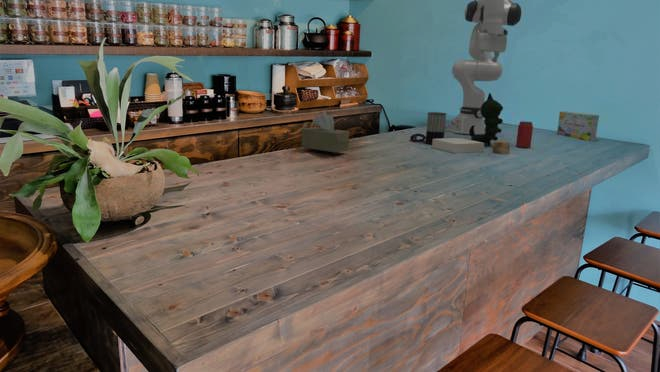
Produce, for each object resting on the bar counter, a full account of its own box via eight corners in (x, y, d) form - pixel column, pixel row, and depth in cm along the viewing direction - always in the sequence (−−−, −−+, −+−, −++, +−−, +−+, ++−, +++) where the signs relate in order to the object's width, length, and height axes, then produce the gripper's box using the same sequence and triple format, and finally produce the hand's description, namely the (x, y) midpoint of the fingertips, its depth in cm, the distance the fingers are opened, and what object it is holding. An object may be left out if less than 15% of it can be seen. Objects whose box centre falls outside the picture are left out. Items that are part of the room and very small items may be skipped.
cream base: (432, 147, 230) (432, 138, 229) (459, 146, 237) (460, 137, 236) (454, 153, 216) (455, 144, 215) (483, 151, 223) (484, 142, 222)
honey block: (492, 152, 223) (493, 141, 222) (499, 152, 225) (501, 140, 224) (501, 154, 219) (502, 143, 218) (509, 153, 221) (510, 142, 220)
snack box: (555, 138, 284) (559, 111, 280) (562, 137, 286) (566, 111, 282) (588, 143, 265) (592, 114, 261) (595, 143, 267) (600, 114, 264)
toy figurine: (489, 148, 236) (495, 93, 230) (461, 142, 252) (466, 91, 246) (504, 147, 240) (510, 93, 234) (476, 141, 256) (481, 91, 251)
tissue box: (300, 147, 219) (301, 110, 215) (315, 144, 226) (316, 109, 223) (335, 152, 207) (336, 114, 204) (349, 150, 215) (350, 112, 211)
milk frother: (445, 145, 238) (448, 114, 235) (412, 144, 239) (414, 112, 235) (440, 141, 252) (443, 111, 249) (409, 140, 253) (411, 110, 249)
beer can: (528, 148, 239) (531, 123, 237) (514, 146, 243) (517, 121, 240) (532, 147, 244) (535, 122, 242) (518, 145, 248) (521, 120, 246)
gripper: (483, 28, 222) (480, 60, 225) (510, 32, 234) (507, 62, 237) (471, 29, 226) (468, 60, 230) (498, 32, 239) (495, 62, 242)
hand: (488, 61), depth 233 cm, fingers open, 8 cm apart
